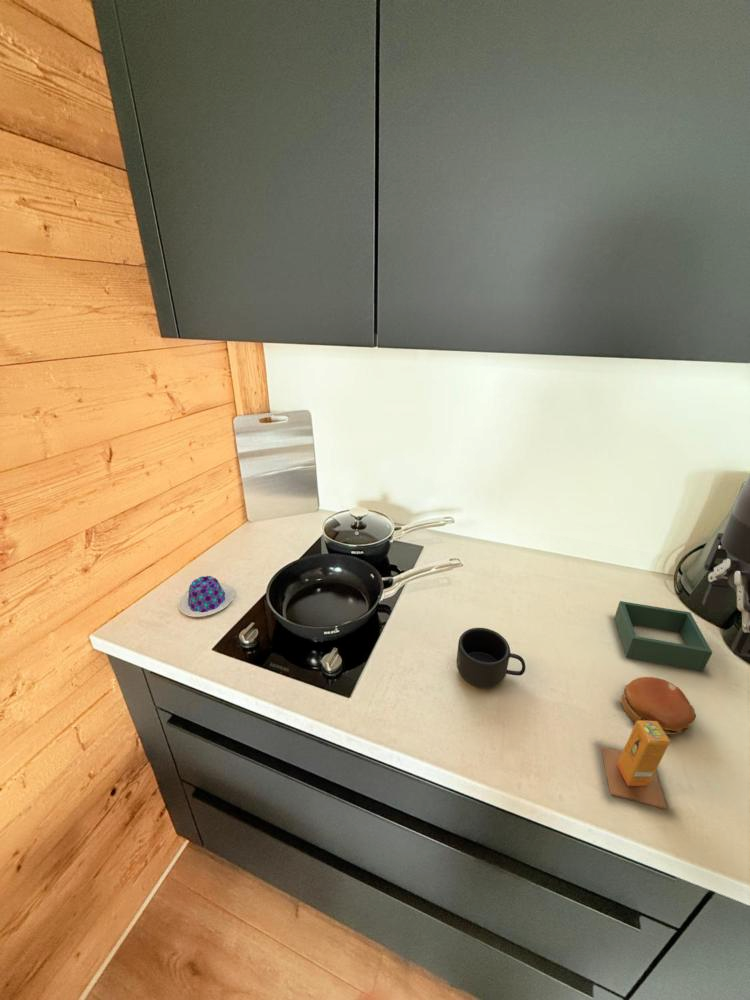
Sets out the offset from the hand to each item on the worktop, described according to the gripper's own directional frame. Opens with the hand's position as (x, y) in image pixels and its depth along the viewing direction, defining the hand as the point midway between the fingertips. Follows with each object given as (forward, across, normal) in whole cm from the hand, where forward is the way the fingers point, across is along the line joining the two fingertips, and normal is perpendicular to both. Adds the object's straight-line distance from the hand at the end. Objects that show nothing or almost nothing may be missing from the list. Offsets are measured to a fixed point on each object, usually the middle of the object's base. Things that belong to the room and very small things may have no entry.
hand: (725, 629), depth 54 cm
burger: (+25, +7, 0) cm, 26 cm away
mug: (+25, +8, +28) cm, 38 cm away
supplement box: (+25, -6, +7) cm, 26 cm away
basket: (+25, +24, -5) cm, 35 cm away
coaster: (+25, -6, +7) cm, 26 cm away
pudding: (+23, +12, +90) cm, 94 cm away
